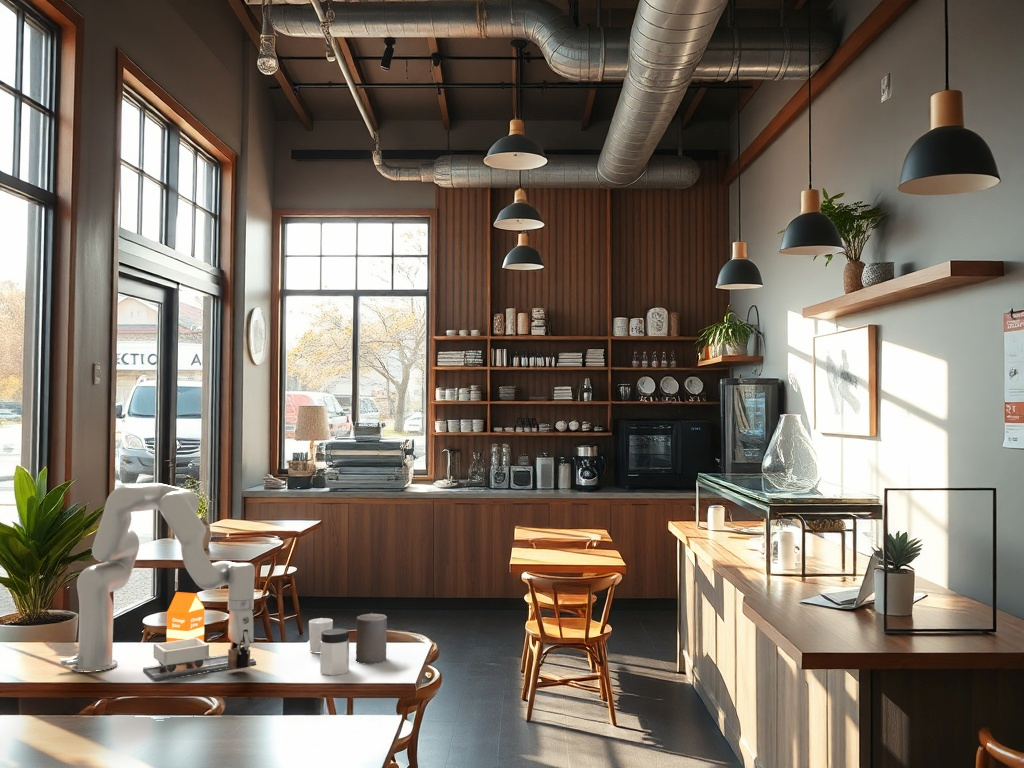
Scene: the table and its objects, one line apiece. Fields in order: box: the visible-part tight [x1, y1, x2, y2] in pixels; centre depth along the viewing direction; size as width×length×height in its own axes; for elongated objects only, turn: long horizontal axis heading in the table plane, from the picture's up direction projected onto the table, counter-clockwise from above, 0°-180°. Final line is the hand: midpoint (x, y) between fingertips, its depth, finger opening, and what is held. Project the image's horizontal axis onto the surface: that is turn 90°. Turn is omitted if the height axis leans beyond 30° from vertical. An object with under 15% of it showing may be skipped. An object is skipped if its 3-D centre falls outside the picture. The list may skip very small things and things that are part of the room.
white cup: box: [308, 617, 334, 653], centre depth 276 cm, size 8×8×10 cm
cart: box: [153, 638, 210, 672], centre depth 253 cm, size 13×12×6 cm
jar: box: [319, 628, 350, 677], centre depth 252 cm, size 9×8×12 cm
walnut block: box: [227, 646, 251, 670], centre depth 251 cm, size 5×5×5 cm
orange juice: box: [166, 591, 205, 642], centre depth 274 cm, size 8×9×20 cm
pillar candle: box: [355, 612, 388, 665], centre depth 265 cm, size 10×10×15 cm
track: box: [142, 653, 257, 682], centre depth 257 cm, size 30×14×1 cm, turn 127°
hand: (238, 664), depth 251 cm, fingers closed on walnut block, 5 cm apart
